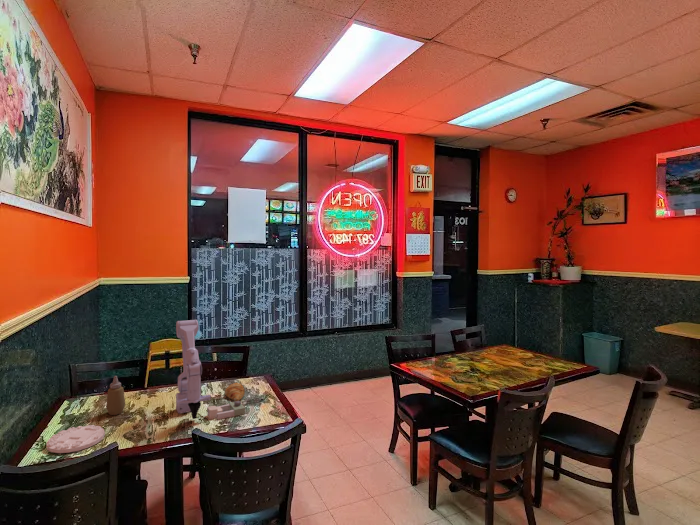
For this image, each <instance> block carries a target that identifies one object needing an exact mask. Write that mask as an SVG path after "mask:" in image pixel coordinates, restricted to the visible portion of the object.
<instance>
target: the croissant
mask: <svg viewBox="0 0 700 525" xmlns="http://www.w3.org/2000/svg"><path fill="white" fill-rule="evenodd" d="M245 393H246V391H245V388H244V386H243V385H242V384H241V383H239V382H233V383H231V384H229V385H228V386H227V387H226V388H225V390H224V395H225V396H226V397H227V398H229V399H230V400H233V402H235V401H241V400H242V399H243V397H244V396H245Z"/></svg>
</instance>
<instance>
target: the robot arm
mask: <svg viewBox="0 0 700 525" xmlns="http://www.w3.org/2000/svg"><path fill="white" fill-rule="evenodd" d="M175 323H176V324H175V328H176V337H177V338H178V339H180V341H181V349H182V350H181V351H182V365H183V367H182V368H183V370H182V371H183V372H181V373H180V374H178V376H177V391H178V392H177V393H176V394H175V409H176V412H177V413H178V414H184V413H189V412H190V413H191V417H192V419H193V420H194V419H195V420H196V419H197V416H198V412H199V410H200V408H201V406H202V403H201V402H204V401H205V402H206V401H211V395H210V394H206V395H201V394H202V393H201V392H202V391H201V389H202V388H201V387H202V386H201V383H202V381H201V376H202V374H203V366H202V362H201V360H200V357H199V350H198V349H197V348H196V346H195V345H196V344H195V342H196V340H195V337H197V334H198V331H199V321H198V320H197V319H190V320H187V319H186V320H177V321H176V322H175Z"/></svg>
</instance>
